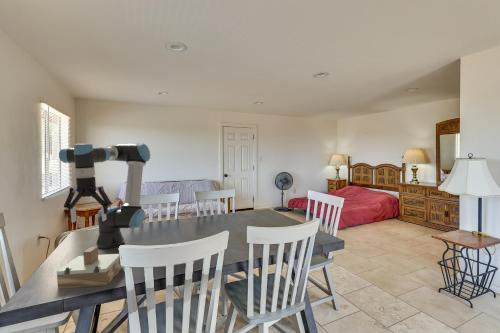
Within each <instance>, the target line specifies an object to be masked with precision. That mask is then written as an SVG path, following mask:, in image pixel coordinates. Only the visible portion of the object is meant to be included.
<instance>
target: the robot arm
mask: <svg viewBox="0 0 500 333" xmlns="http://www.w3.org/2000/svg"><path fill="white" fill-rule="evenodd" d="M150 152H151V151H150V148H149V147H148V146H147V144H145V143H139V142H138V143H120V144H119V143H118V144H113V145H107V146H105V147H102V146H101V147H97V146H95V147H93V144H92V143H76V144H74V145H73V147H66V148H61V149H60V150H59V152H58V158H59V160H60V162H63V163H65V164H74V165H75V166H74V167H75V169H74V170H75V176H76V187H75V186H72V187H70V188H69V193H68V195H67V198H66V200H65V202H64V204H63V208H64V209H65V208H66V209H68V216H70V218H71V219H70V222H71V223H73V224H74V223H75V222H77V211H76V210H77V209H76V207H75V206H76V204H77V203H78V202H79V201H80V199H81V198H82V197H83V198H85V197H88V198H89V197H92V198H93V199H95V201H97V203H98V204H100V205H101V208H100V210H98V211H97V220H98V221H97V223H98V237H97V239H96V243H95V244H96V246H95V247H98V249H102V250H104V249H113V248H116V247H119V246H121V245H123V244H124V243H125V239H124V236H123V234H122V232H121V229H139V228H140V227H141V226H142V225H143V223H144V222H145V218H146V213H145V210H144V209H143V206H142V205H141V203H140V202H141V201H140V200H141V191H142V179H143V170H144V167H145V166H146V165H147V164H146V163H147V162H149V161H150V159H151V153H150ZM108 161H110V162H113V161H116V162H125V163H126V165H127V167H128V168H127V169H128V170H127V176H126V177H127V178H126V187H125V194H124V203H123V204H122V205H121V206H118V205H113V206H111V205H112V201H111V199H110V198H109V197H108V195H107V193H106V192H105V189H104V186H103V185H101V186H96V184H97V182H96V177H95V176H96V171H95V163H96V164H98V163H104V162H108ZM96 191H97V192H96ZM76 192H77V193H78V194H76ZM75 194H76V196H75ZM74 196H75V198H74ZM73 198H74V199H73ZM120 207H121V208H120Z"/></svg>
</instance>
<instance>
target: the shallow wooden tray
mask: <svg viewBox="0 0 500 333" xmlns="http://www.w3.org/2000/svg"><path fill="white" fill-rule="evenodd" d="M122 269H123V266H122V267H121V265H120V259H119V260H118V261H117V262H116V263H115V264H114V265H113V266H112V267H111V268H110V269H109V270H108V271H107V272H99V270H98V266H95V272H94V273H81V274H70V272H69V267H67V268H66V273H65V274H64V275H57V274H56V280H57V289H70V288H71V289H72V288H86V287H87V288H88V287H102V286H103V287H104V286H108V284H110V283H111V282H112V281H113V279H114V278H115V277H116V275H118V274H119V272H120V271H121V270H122Z"/></svg>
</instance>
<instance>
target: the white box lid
mask: <svg viewBox="0 0 500 333" xmlns="http://www.w3.org/2000/svg"><path fill="white" fill-rule="evenodd" d="M82 254H83V255H78V256H76V257H75V258H73V259H71V261H69V262H67V263H66V264H65V265H63V266H62V267H61V268H60V269H58V270H56V276H57V275H64V274H65V273H66V268H67V267H69V272H70V274H81V273H94V272H95V266H98V270H99V272H107V271H108V270H109V269H110V268H111V267H112V266H113V265H114V264H115V263H116V262H117V261H118V260H119V259H120V257H119V254H120V253H109V254H107V253H106V254H99V248H98V247H96V246H90V247H89V248H87V249H85V250H84V251H83V253H82Z"/></svg>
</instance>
